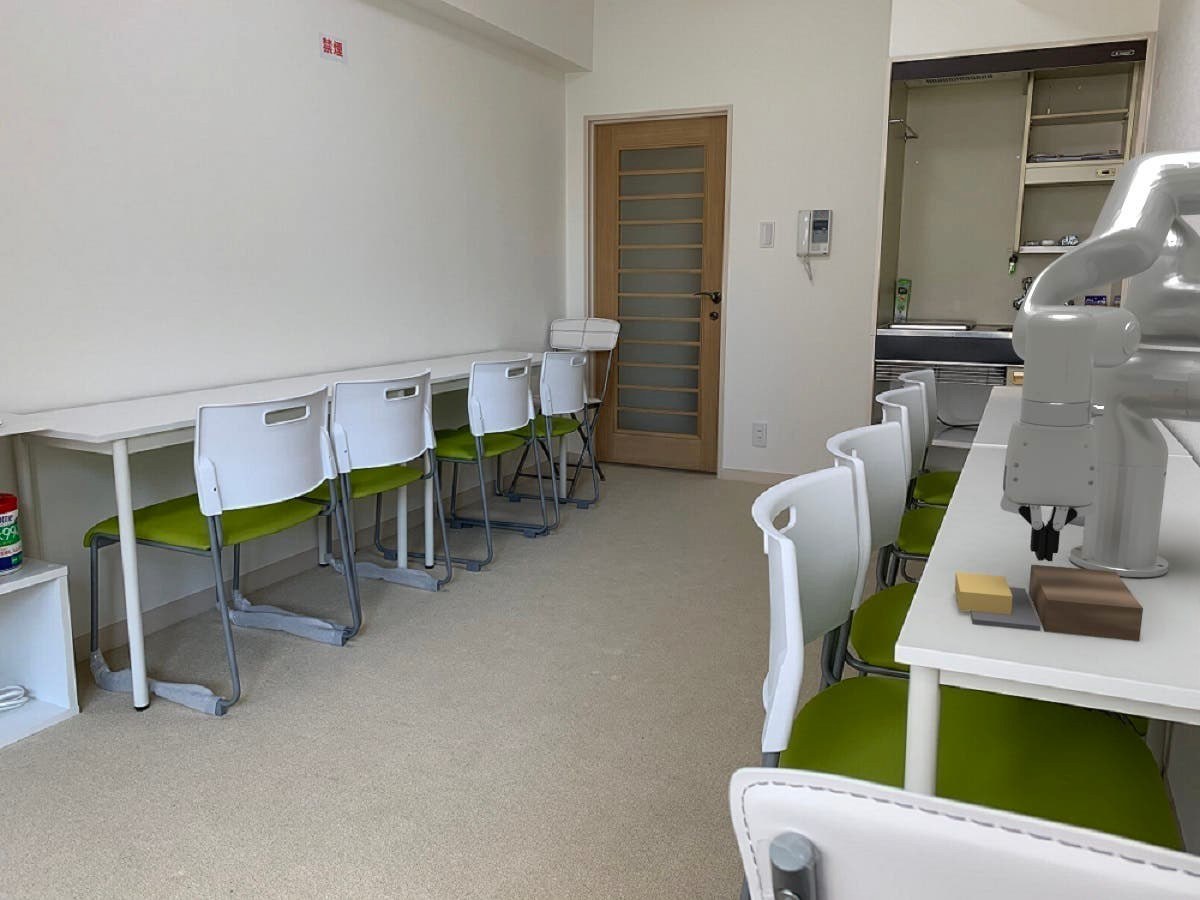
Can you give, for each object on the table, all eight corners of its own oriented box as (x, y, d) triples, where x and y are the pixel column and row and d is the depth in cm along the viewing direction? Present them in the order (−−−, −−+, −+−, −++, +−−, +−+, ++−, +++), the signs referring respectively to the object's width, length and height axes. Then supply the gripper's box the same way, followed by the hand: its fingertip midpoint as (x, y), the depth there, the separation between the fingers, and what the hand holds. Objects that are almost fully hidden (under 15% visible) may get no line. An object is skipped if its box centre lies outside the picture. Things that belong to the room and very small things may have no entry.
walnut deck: (1028, 593, 121) (1031, 564, 120) (1112, 600, 118) (1115, 571, 117) (1044, 631, 108) (1047, 599, 107) (1139, 641, 105) (1143, 608, 104)
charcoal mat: (964, 587, 124) (964, 583, 123) (1024, 592, 121) (1024, 588, 121) (972, 623, 110) (972, 619, 110) (1040, 630, 108) (1040, 626, 108)
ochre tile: (1004, 576, 119) (1003, 593, 119) (955, 572, 121) (954, 589, 121) (1012, 596, 111) (1010, 614, 112) (960, 591, 113) (958, 609, 113)
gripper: (1116, 410, 111) (1103, 552, 115) (985, 407, 116) (976, 544, 120) (1131, 421, 104) (1116, 572, 108) (991, 417, 109) (981, 562, 113)
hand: (1043, 557), depth 114 cm, fingers closed
